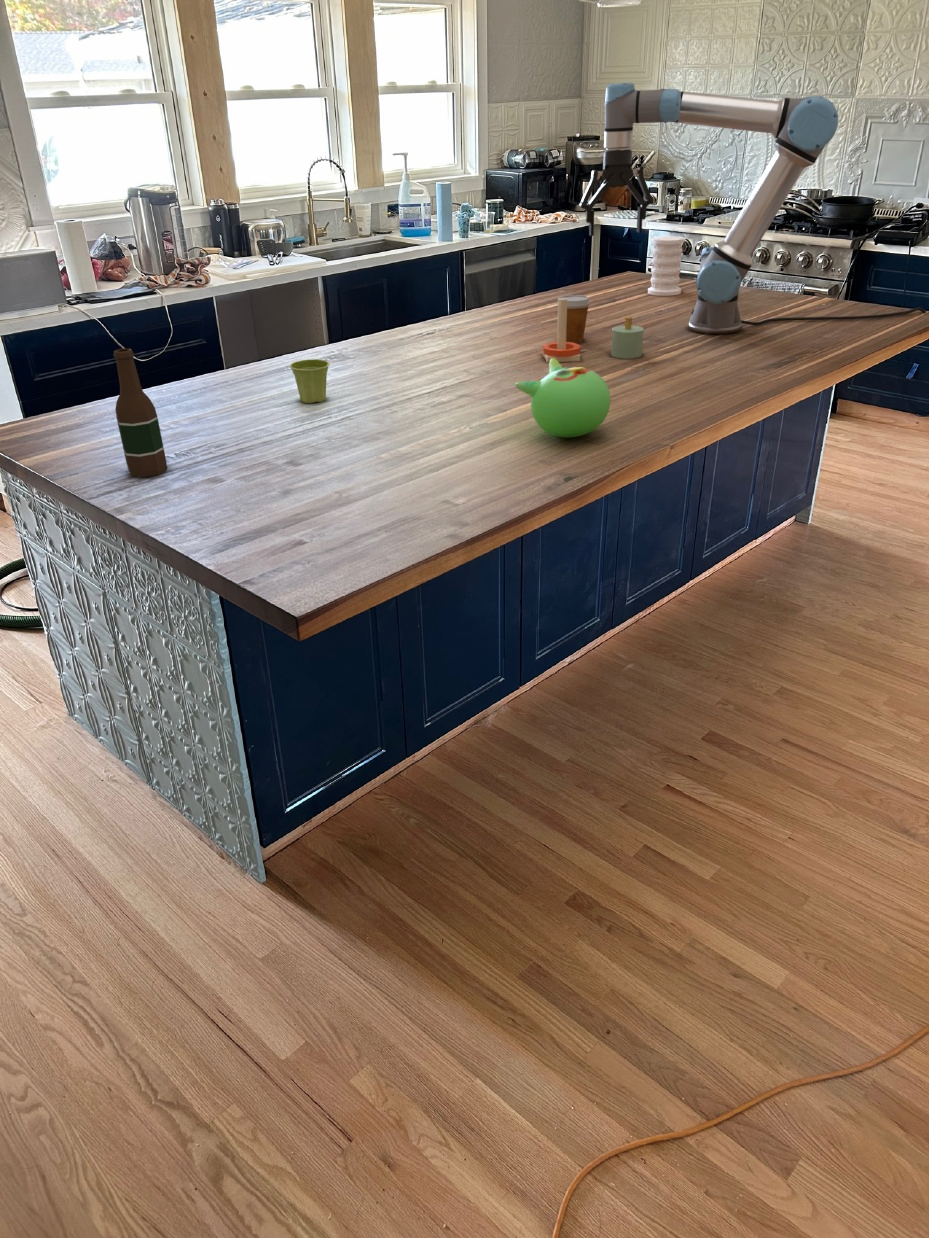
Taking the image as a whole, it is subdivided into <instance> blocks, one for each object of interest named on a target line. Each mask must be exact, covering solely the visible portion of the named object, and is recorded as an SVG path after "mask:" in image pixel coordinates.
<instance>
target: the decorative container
mask: <svg viewBox="0 0 929 1238" xmlns="http://www.w3.org/2000/svg"><path fill="white" fill-rule="evenodd" d="M651 242H652V244H653V248H652V254H653V255H652V258H651V264H652V267H651V269H650V272H651V277H650V283H651V286H650V287H648V288H647V294H648V295H652V296H657V297H669V296H678V295H680V294H682V288H681V287H679V285H680V281H681V277H680V274H681V271H682V269H681V263H682V253H683V244H684V243H685V236H684V237H683V236H678V235H662V236H654V237H652V239H651Z"/></svg>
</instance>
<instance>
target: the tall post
mask: <svg viewBox="0 0 929 1238" xmlns="http://www.w3.org/2000/svg"><path fill="white" fill-rule="evenodd" d="M558 298H559V297H558ZM558 298H557V302H558V305H557V330H556V331H557V334H556V342H557V349H566V325H567V298H559V299H558ZM542 355H543V357H544V359H545V361H546V363H548V364H549V362H550V360H551V359H552V358H555V359H556V360H557V361H558V362H559V363H568V362H570V363H571V362H581V354H580V353H579V354H577V355H574V356H568V357H555V356H548V355H545V354H544V353H543V352H542Z"/></svg>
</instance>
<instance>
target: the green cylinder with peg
mask: <svg viewBox="0 0 929 1238" xmlns="http://www.w3.org/2000/svg"><path fill="white" fill-rule="evenodd" d="M632 323H633V317H632V316H625V317H624V325H617V326H614V327H612V328H611V347H610V356H611V357H613V358H616V359H621V360H622V359H624V360H625V359H628V360H629V359H630V360H631V359H637V358H640V357H642V356H643V347H644V346H643V345H644V331H645V329H644V327H642V326H640V325H633V324H632Z"/></svg>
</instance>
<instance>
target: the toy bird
mask: <svg viewBox="0 0 929 1238" xmlns="http://www.w3.org/2000/svg"><path fill="white" fill-rule="evenodd" d="M514 387H515V388H516V389H517V390H519V391H520V392H523V393H525V394H526V395H529V396H530V397H531V401H530V409H531V414H532V417H533V419H534V421H535V423H536V424H537V425H538V426H539V428H540V429H541V430H542V431H544V432H546V433H547V434H549V435H551V436H555V437H559V438H568V439H569V438H577V437H582V436H585V435H587V434H589V433H591V432H593V431H595V430H596V429H597V428H598V427H600V426H601V425H602V423H604V421H605V420H606V418H607V416H608V414H609V411H610V407H611V393H610V389H609V387H608V384H607V383H606V381H605V380H604V379H603V378H602V376H600V375H599V374H598V373H596V372H595V371H593V370H591V369H588V368H585V367H584V366H566V367H563V366H562V364H560V362H558V361H557V360H556V359H555V358H552V359H551V360H550V362H548V374H547V375H545V376H544V377H543V378H541V380H538V381H537V380H536V381H535V380H534V381H533V380H525V381H523V380H522V381H517V382H515V384H514Z"/></svg>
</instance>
